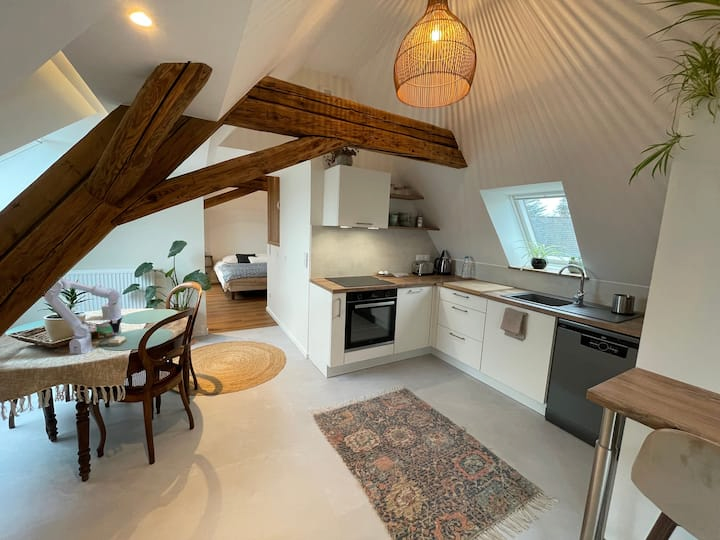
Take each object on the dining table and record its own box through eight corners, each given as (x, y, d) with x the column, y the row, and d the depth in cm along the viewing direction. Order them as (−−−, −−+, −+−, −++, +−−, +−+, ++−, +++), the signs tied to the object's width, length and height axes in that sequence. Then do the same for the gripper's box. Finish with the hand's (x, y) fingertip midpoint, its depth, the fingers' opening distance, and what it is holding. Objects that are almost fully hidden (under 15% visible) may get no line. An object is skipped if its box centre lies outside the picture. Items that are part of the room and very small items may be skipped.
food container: (104, 340, 186) (102, 325, 185) (96, 339, 187) (94, 324, 186) (123, 333, 198) (122, 319, 196) (115, 332, 199) (114, 318, 198)
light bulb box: (109, 316, 230) (108, 302, 229) (120, 315, 232) (118, 302, 231) (102, 320, 220) (101, 306, 219) (113, 319, 222) (112, 306, 221)
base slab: (119, 347, 179) (119, 343, 178) (107, 347, 178) (107, 343, 178) (126, 342, 185) (126, 339, 185) (115, 342, 185) (115, 339, 184)
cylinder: (118, 334, 179) (117, 328, 178) (110, 334, 178) (109, 328, 178) (123, 332, 183) (122, 325, 182) (115, 332, 183) (114, 325, 182)
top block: (118, 342, 179) (118, 339, 179) (109, 342, 178) (108, 339, 178) (125, 339, 184) (125, 336, 184) (115, 339, 184) (115, 336, 184)
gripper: (122, 312, 175) (124, 333, 177) (123, 305, 187) (125, 326, 189) (107, 313, 171) (108, 335, 173) (109, 307, 182) (111, 328, 184)
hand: (116, 331), depth 180 cm, fingers closed on cylinder, 4 cm apart
